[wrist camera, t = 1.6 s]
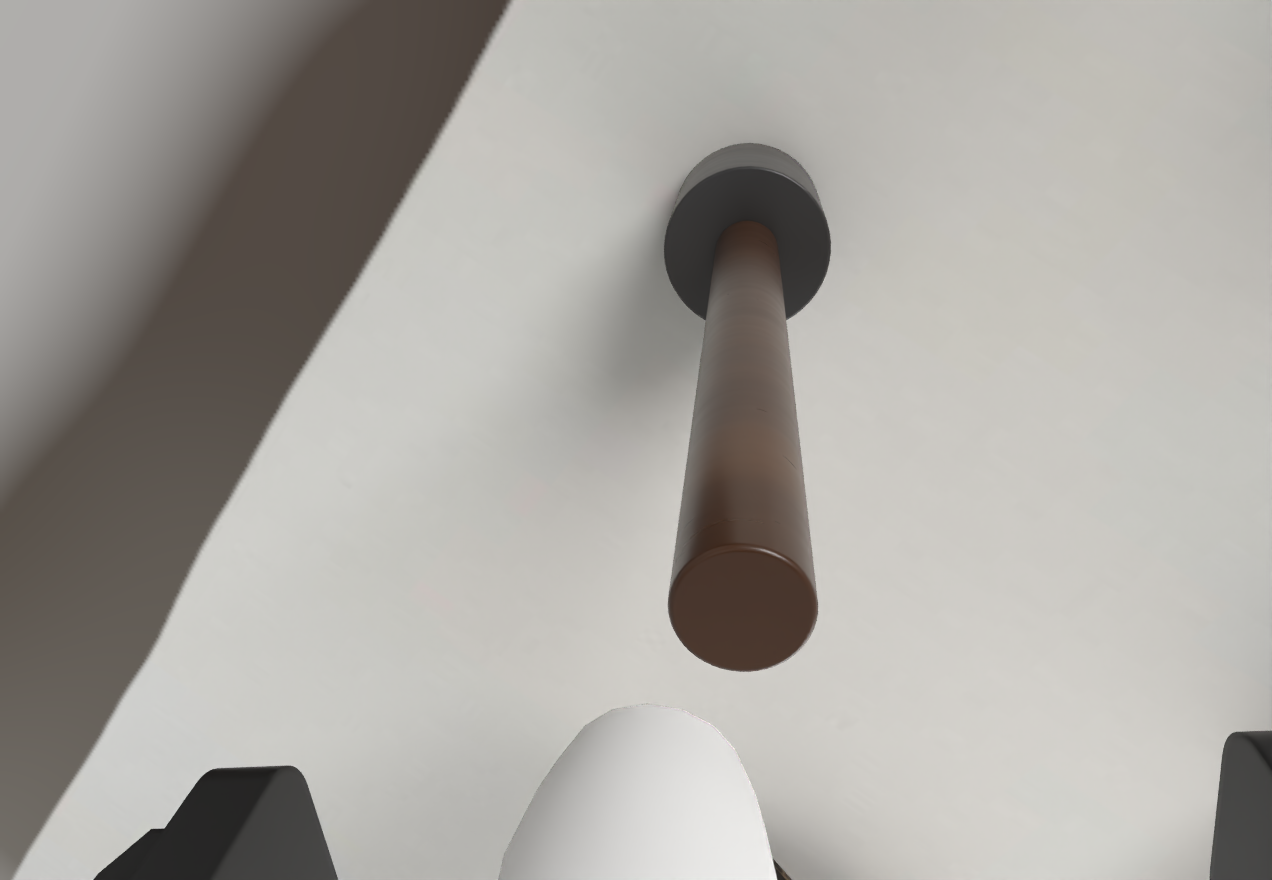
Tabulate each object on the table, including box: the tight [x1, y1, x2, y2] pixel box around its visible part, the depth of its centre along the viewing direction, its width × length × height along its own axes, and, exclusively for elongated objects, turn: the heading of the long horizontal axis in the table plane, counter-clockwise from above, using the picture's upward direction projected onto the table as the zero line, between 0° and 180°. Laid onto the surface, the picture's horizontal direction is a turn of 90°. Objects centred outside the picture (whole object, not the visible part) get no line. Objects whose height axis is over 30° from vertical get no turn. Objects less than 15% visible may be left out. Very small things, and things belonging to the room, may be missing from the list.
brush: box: [664, 143, 831, 672], centre depth 23 cm, size 5×5×24 cm
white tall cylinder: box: [498, 704, 777, 880], centre depth 31 cm, size 7×7×21 cm
